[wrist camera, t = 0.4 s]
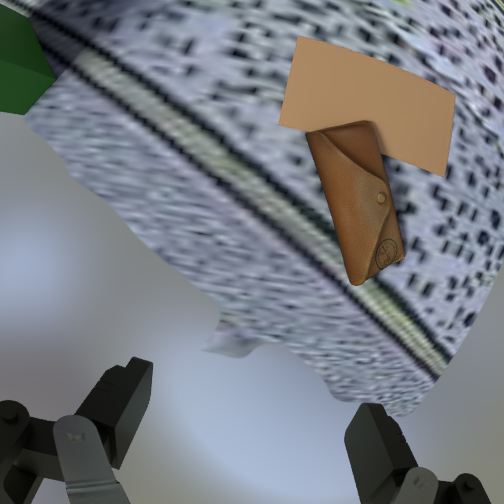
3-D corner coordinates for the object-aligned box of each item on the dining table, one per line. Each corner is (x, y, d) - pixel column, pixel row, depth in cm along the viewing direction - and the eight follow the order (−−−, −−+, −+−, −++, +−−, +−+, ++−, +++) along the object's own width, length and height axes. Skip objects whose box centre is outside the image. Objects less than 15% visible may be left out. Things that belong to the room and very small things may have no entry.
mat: (298, 36, 30) (298, 35, 29) (454, 95, 30) (455, 94, 30) (278, 124, 32) (278, 124, 32) (443, 177, 33) (444, 177, 33)
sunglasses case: (409, 259, 35) (405, 283, 30) (358, 266, 39) (345, 291, 34) (369, 115, 31) (358, 112, 26) (316, 132, 35) (296, 133, 30)
